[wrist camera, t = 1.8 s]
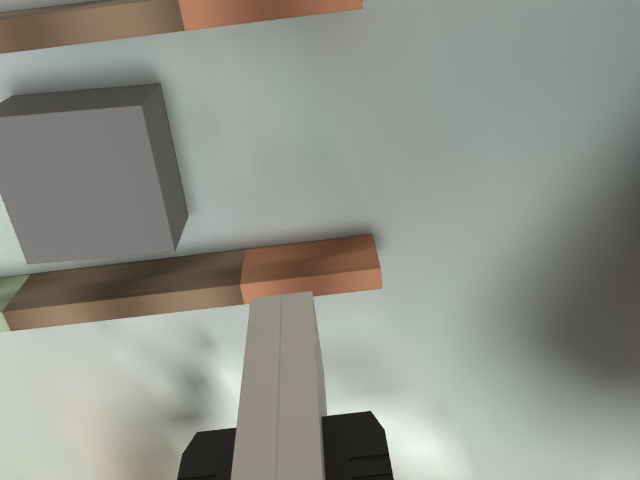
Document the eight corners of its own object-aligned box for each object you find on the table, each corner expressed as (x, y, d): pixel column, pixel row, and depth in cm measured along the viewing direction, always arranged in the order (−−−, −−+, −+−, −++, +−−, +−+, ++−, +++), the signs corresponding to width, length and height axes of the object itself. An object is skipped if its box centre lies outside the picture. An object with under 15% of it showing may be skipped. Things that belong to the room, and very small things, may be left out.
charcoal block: (161, 82, 27) (141, 105, 23) (188, 214, 30) (175, 251, 27) (14, 94, 27) (-28, 119, 23) (58, 225, 30) (27, 264, 27)
